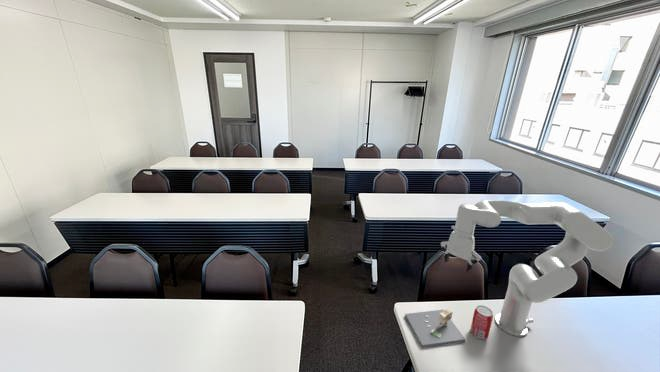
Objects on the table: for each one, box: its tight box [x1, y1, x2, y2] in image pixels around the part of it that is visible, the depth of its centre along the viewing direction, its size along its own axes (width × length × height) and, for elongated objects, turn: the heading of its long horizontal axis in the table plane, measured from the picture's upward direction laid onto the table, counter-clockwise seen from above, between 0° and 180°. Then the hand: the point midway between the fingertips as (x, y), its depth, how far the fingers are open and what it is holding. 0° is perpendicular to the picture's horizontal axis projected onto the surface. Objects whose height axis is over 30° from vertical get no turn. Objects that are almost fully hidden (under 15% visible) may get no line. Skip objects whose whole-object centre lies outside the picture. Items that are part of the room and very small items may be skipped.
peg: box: [431, 307, 453, 333], centre depth 118 cm, size 12×3×7 cm, turn 123°
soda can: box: [470, 304, 494, 340], centre depth 116 cm, size 7×7×13 cm
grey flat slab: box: [404, 309, 466, 349], centre depth 120 cm, size 20×17×2 cm
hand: (457, 265), depth 119 cm, fingers open, 9 cm apart
